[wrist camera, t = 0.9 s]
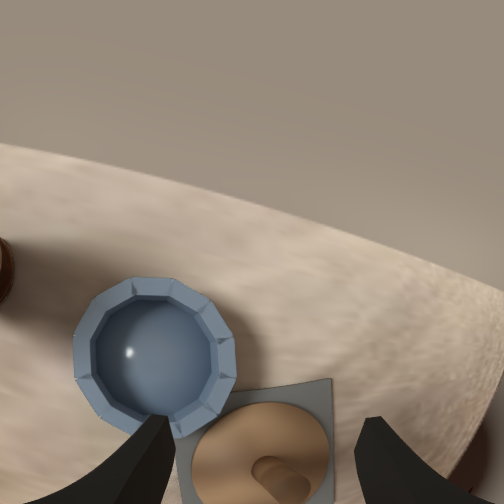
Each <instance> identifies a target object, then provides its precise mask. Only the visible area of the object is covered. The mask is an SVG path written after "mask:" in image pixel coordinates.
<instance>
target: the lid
mask: <svg viewBox="0 0 504 504" xmlns="http://www.w3.org/2000/svg"><path fill="white" fill-rule="evenodd" d="M328 463H329V445H328V440H327V437H326V435H325V432H324V430H323V429H322V427H321V425H320V424H319V423H318V422H317V420H316V419H315V418H314V417H312V416H311V415H310V414H309V413H307V412H306V411H304V410H302V409H300V408H298V407H295V406H292V405H289V404H285V403H280V402H270V401H266V402H256V403H251V404H247V405H244V406H241V407H238V408H236V409H234V410H232V411H230V412H228V413H226V414H225V415H223V416H222V417H220V418H219V419H218V420H216V421H215V422H214V423H213V424H212V425H211V426H210V427H209V428H208V429H207V430H206V431H205V432H204V434H203V435H202V436H201V438H200V440H199V441H198V443H197V445H196V447H195V450H194V452H193V456H192V460H191V477H192V482H193V485H194V487H195V490H196V492H197V494H198V496H199V498H200V499H201V501H202V502H203V503H204V504H304V503H306V502H307V501H308V500H309V499H310V498H311V497H312V496H313V494H314V493H315V492H316V491H317V489H318V488H319V486H320V484H321V483H322V481H323V479H324V476H325V474H326V471H327V468H328Z"/></svg>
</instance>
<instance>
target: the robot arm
mask: <svg viewBox="0 0 504 504" xmlns="http://www.w3.org/2000/svg"><path fill="white" fill-rule="evenodd" d="M175 452H176V446H175V442H174V439H173V435H172V431H171V427H170V423H169V419H168V416H164V415H158V414H151V415H150V416H149V417H148V418H147V419H146V421H145V422H144V423H143V424H142V425H141V426H140V427H139V428H138V429H137V430H136V431H135V433H134V434H133V435H132V436H131V437H130V438H129V439H128V440H127V441H126V442H125V443H124V444H123V445H122V446H121V447H120V448H119V449H118V450H117V451H115V452H114V453H113V454H112V455H111V456H110V457H109V458H107V459H106V460H105V461H104V462H103V463H102V464H100V465H99V466H98V467H96V468H95V469H94V470H92V471H91V472H90V473H88V474H87V475H85V476H84V477H82V478H81V479H79V480H77V481H76V482H74V483H72V484H71V485H69V486H67V487H65V488H63V489H61V490H59V491H57V492H55V493H52V494H50V495H48V496H45V497H43V498H40V499H38V500H35V501H31V502H28V503H24V504H161V501H162V498H163V495H164V492H165V489H166V487H167V484H168V481H169V478H170V475H171V472H172V467H173V463H174V457H175ZM354 455H355V462H356V469H357V474H358V478H359V481H360V485H361V488H362V492H363V495H364V499H365V502H366V504H494V503H491V502H488V501H486V500H483V499H481V498H478V497H476V496H474V495H472V494H470V493H468V492H466V491H464V490H462V489H461V488H459V487H457V486H456V485H454V484H452V483H451V482H449V481H448V480H447V479H445V478H444V477H442V476H441V475H440V474H438V473H437V472H436V471H434V470H433V469H432V468H431V467H430V466H429V465H427V464H426V463H425V462H424V461H423V460H422V459H421V458H420V457H419V456H418V455H417V454H416V453H415V452H414V451H413V450H412V449H411V448H410V447H409V446H408V445H407V444H406V443H405V442H404V441H403V440H402V439H401V438H400V437H399V436H398V435H397V434H396V432H395V431H394V430H393V429H392V428H391V427H390V426H389V425H388V424H387V422H386V421H385V420H384V419H383V418H382V417H381V416H379V417H371V418H366V419H365V422H364V425H363V428H362V430H361V433H360V436H359V438H358V441H357V444H356V446H355V449H354Z"/></svg>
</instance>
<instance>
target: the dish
mask: <svg viewBox="0 0 504 504" xmlns="http://www.w3.org/2000/svg"><path fill="white" fill-rule="evenodd" d="M95 299H96V300H95ZM95 299H94V298H93V299H92V301H91V303H90V305H89V306H88V308H87V310H86V312H85V313H84V315H83V317H82V319H81V320H80V322H79V324H78V326H77V328H76V330H75V332H74V333H73V334H74V335H76V336H73V360H74V377H75V378H78V379H76V380H75V381H76V382H77V384H78V386H79V387H80V389H81V391H82V392H83V394H84V395H85V397H86V399H87V400H88V402H89V403H90V405H91V406H92V408H93V409H94V411H95V412H96V414H97V415H98V417H99V416H101V419H102V420H104V421H106V422H108V423H109V424H111V425H113V426H115V427H117V428H118V429H120V430H122V431H124V432H126V433H128V434H130V435H133V434H134V433H135V431H136V430H137V429H138V428H139V427H140V426H141V425H142V424H143V423H144V422H145V421H146V419H147V418H148V417H149V416H150V415H151V414H158V415H164V416H168V419H169V423H170V427H171V431H172V435H173V439H175V438H182V436H183V437H186V436H187V435H189V434H191V433H192V432H194V431H195V430H197V429H199V428H200V427H202V426H203V425H205V424H206V423H208V422H210V421H211V420H213V419H214V418H216V417H217V415H216V414H220V412H221V410H222V408H223V406H224V404H225V402H226V400H227V398H228V396H229V394H230V392H231V390H232V387H233V385H234V383H235V381H236V379H234V378H236V377H237V373H236V358H235V343H234V338H231V337H232V336H233V334H232V332H231V331H230V329H229V328H228V326H227V325H226V323H225V321H224V320H223V318H222V317H221V315H220V314H219V312H218V310H217V309H216V307H215V305H214V304H213V302H212V301H211V302H209V301H210V299H208V298H207V297H205V296H203V295H201V294H200V293H198V292H196V291H195V290H193V289H191V288H189V287H188V286H186V285H184V284H183V283H181V282H179V281H177V280H176V279H174V281H173V278H148V277H132V280H131V279H130V278H128V279H126V280H124V281H122V282H121V283H119V284H117V285H115V286H113V287H111V288H110V289H108V290H106V291H104V292H102V293H101V294H99V295H97V296H95Z"/></svg>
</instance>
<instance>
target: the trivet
mask: <svg viewBox="0 0 504 504" xmlns="http://www.w3.org/2000/svg"><path fill="white" fill-rule="evenodd" d="M266 401H270V402H280V403H285V404H289V405H292V406H295V407H298V408H300V409H302V410H304V411H306V412H307V413H309V414H310V415H311V416H312V417H314V418H315V419H316V420H317V422H318V423H319V424H320V425H321V427H322V429H323V430H324V432H325V435H326V437H327V440H328V445H329V463H328V468H327V471H326V474H325V476H324V479H323V481H322V483H321V484H320V486H319V488H318V489H317V491H316V492H315V493H314V494H313V496H312V497H311V498H310V499H309V500H308V501H307V502H306V503H304V504H334V442H333V412H332V392H331V378H326V379H321V380H316V381H310V382H305V383H299V384H293V385H286V386H280V387H272V388H265V389H257V390H248V391H239V392H230V394H229V396H228V398H227V400H226V402H225V404H224V406H223V408H222V410H221V412H220V414H216V415H217V417H216V418H214V419H213V420H211V421H210V422H208V423H206V424H205V425H203V426H202V427H200V428H199V429H197V430H195V431H194V432H192V433H191V434H189V435H187V436H186V437H183V436H182V438H175V439H174V442H175V446H176V452H175V458H176V465H177V472H178V478H179V484H180V490H181V496H182V502H183V504H204V503H203V502H202V501H201V499H200V498H199V496H198V494H197V492H196V490H195V487H194V485H193V482H192V477H191V460H192V456H193V452H194V450H195V447H196V445H197V443H198V441H199V440H200V438H201V436H202V435H203V434H204V432H205V431H206V430H207V429H208V428H209V427H210V426H211V425H212V424H213V423H214V422H215V421H216V420H218V419H219V418H220V417H222V416H223V415H225V414H226V413H228V412H230V411H232V410H234V409H236V408H238V407H241V406H244V405H247V404H251V403H256V402H266Z"/></svg>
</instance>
